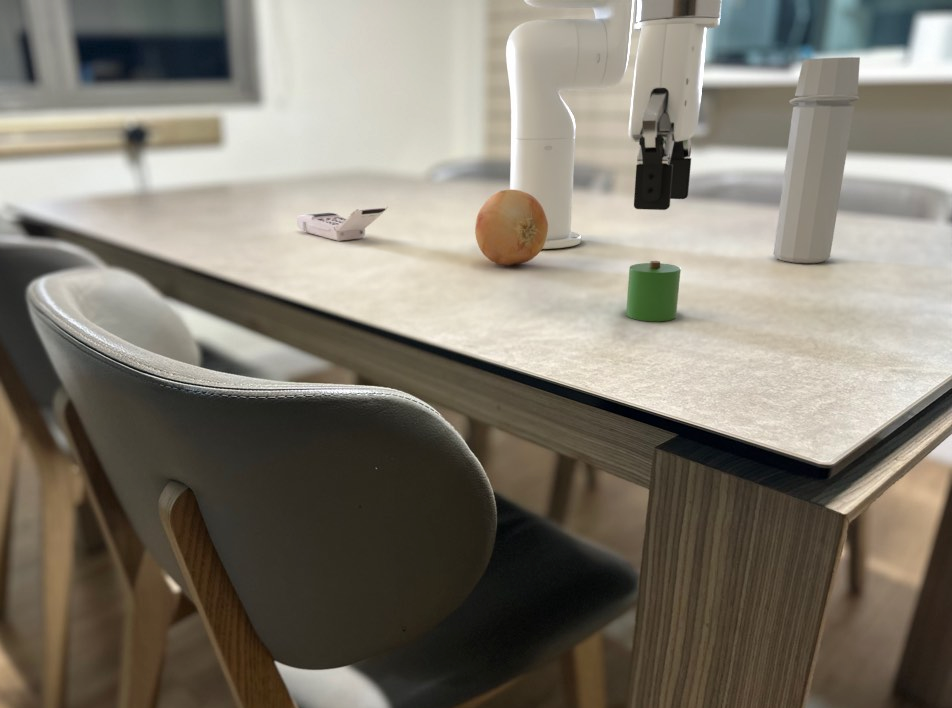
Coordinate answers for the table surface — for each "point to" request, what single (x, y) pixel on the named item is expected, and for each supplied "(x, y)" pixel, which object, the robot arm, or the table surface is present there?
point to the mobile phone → (339, 224)
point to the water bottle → (816, 158)
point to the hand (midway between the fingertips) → (661, 203)
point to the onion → (511, 227)
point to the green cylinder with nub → (653, 291)
